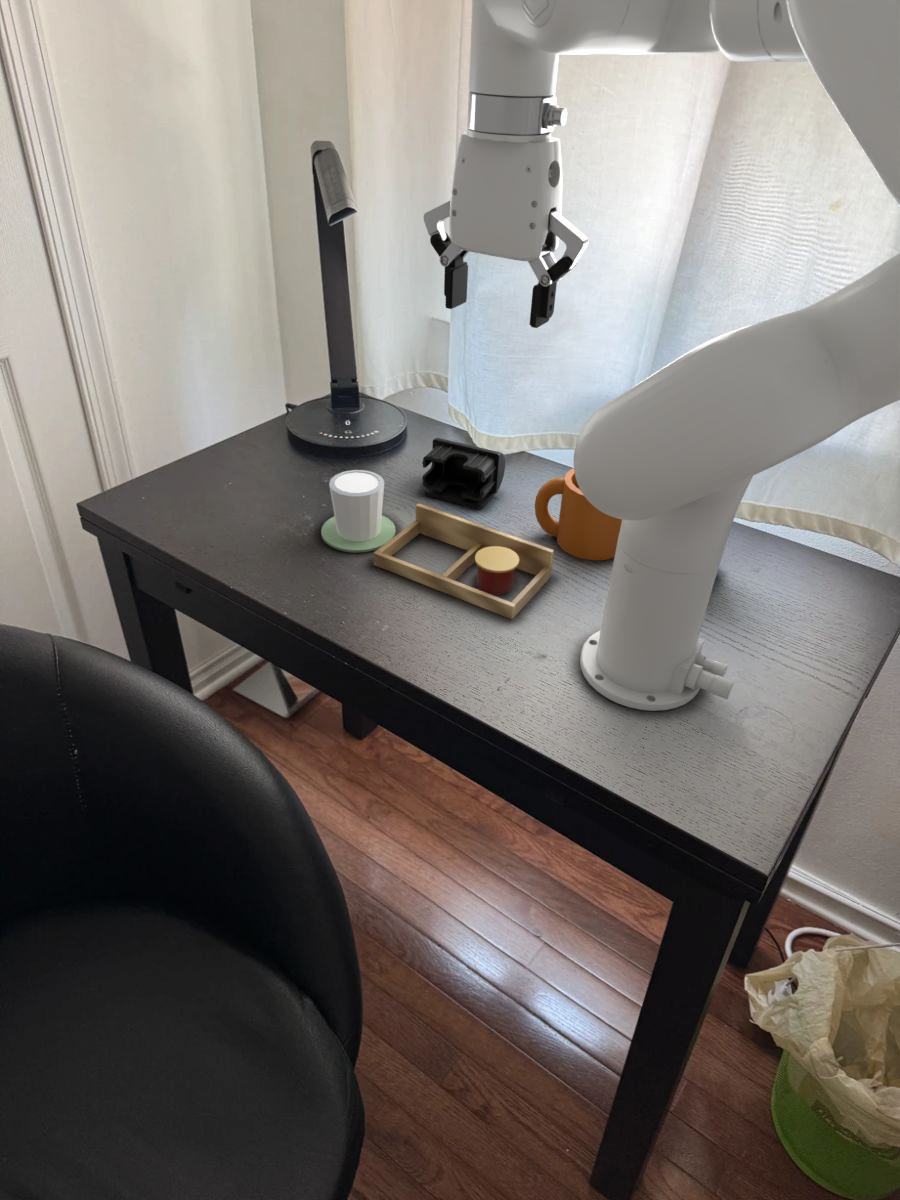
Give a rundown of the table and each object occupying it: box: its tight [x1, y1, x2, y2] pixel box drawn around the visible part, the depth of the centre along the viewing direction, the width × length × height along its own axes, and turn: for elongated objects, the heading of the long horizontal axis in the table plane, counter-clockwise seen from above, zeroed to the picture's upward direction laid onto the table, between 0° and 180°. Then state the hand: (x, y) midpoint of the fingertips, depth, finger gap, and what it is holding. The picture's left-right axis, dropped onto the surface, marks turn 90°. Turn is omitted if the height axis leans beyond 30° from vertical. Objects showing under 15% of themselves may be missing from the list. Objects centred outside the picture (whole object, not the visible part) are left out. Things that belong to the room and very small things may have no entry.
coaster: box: [320, 514, 397, 554], centre depth 103 cm, size 10×10×1 cm
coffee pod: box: [474, 546, 519, 595], centre depth 94 cm, size 5×5×4 cm
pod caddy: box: [372, 503, 555, 620], centre depth 95 cm, size 19×10×4 cm, turn 59°
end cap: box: [421, 437, 506, 510], centre depth 110 cm, size 10×7×7 cm
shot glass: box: [328, 469, 385, 541], centre depth 101 cm, size 7×7×7 cm
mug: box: [534, 467, 622, 561], centre depth 101 cm, size 9×12×9 cm
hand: (496, 314), depth 80 cm, fingers open, 9 cm apart
